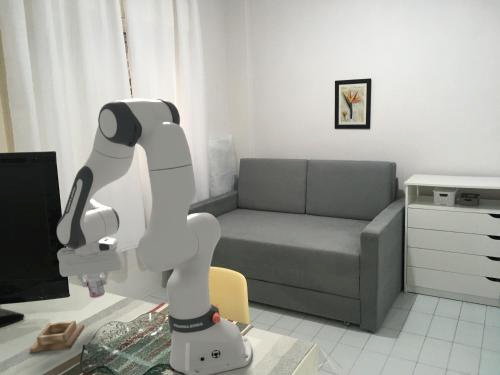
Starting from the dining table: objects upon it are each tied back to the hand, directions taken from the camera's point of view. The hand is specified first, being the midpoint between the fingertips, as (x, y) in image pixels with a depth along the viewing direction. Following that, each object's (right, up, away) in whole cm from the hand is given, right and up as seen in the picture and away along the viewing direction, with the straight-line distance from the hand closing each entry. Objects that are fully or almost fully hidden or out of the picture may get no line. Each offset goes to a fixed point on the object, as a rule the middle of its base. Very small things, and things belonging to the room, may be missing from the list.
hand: (95, 285), depth 138 cm
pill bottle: (0, -4, +1) cm, 4 cm away
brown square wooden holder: (-9, -15, -8) cm, 19 cm away
